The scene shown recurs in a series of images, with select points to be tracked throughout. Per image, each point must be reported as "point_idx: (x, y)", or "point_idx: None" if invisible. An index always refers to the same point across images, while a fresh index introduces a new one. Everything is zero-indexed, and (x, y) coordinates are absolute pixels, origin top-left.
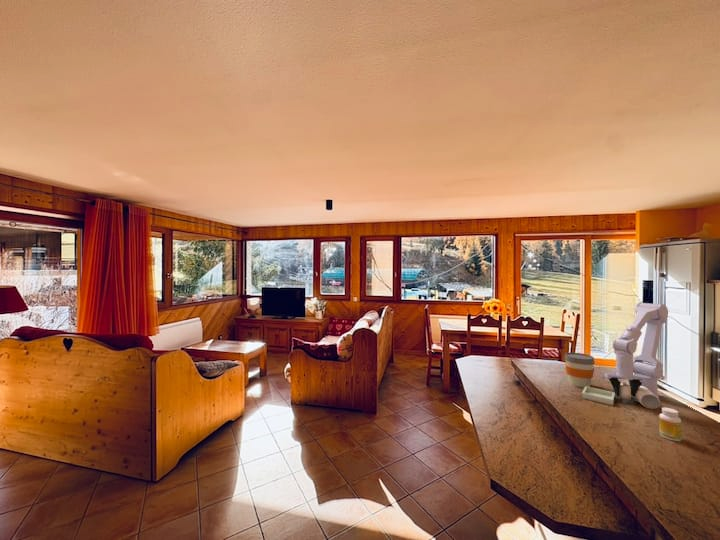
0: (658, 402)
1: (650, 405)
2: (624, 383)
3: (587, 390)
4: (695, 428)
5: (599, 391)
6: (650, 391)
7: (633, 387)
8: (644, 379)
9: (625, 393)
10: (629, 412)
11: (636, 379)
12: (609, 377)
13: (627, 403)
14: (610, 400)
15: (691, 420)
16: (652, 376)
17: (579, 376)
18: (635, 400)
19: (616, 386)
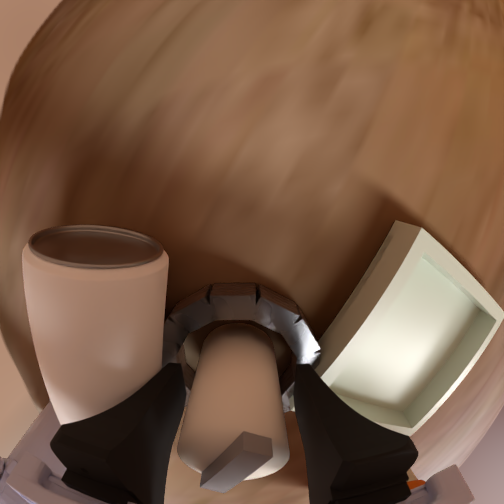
0: (49, 237)
1: (111, 240)
2: (233, 474)
3: (402, 413)
4: (72, 24)
5: (367, 411)
6: (39, 364)
7: (152, 428)
8: (21, 468)
9: (252, 370)
10: (339, 109)
11: (91, 498)
12: (442, 483)
13: (260, 287)
14: (426, 236)
15: (19, 125)
16: (7, 477)
17: (413, 486)
18: (184, 318)
19: (355, 413)
